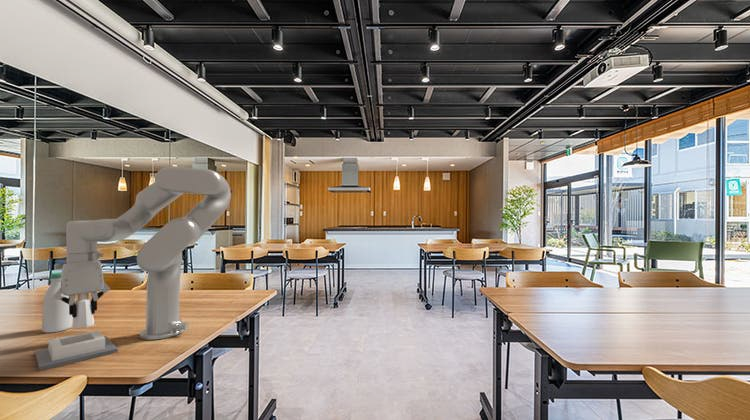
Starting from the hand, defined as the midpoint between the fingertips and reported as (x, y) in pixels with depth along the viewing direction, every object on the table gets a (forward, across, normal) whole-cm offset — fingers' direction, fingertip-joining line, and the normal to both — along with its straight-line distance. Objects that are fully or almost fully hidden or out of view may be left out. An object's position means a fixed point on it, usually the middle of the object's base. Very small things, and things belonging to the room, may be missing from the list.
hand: (83, 314), depth 105 cm
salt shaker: (+4, 0, 0) cm, 4 cm away
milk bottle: (+8, +4, -20) cm, 22 cm away
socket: (+8, +3, +12) cm, 15 cm away
